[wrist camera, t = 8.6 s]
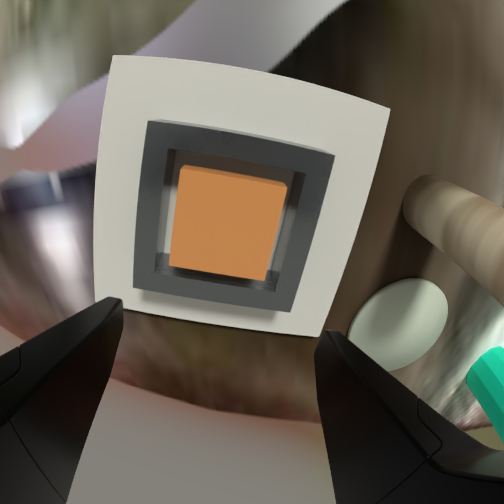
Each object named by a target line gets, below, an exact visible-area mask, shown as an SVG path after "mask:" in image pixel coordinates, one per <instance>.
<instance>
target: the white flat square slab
mask: <svg viewBox="0 0 504 504" xmlns="http://www.w3.org/2000/svg"><path fill="white" fill-rule="evenodd" d="M389 113H390V109H389V108H386V107H384V106H381V105H378V104H375V103H373V102H370V101H367V100H364V99H361V98H358V97H355V96H352V95H349V94H346V93H343V92H339V91H336V90H333V89H329V88H326V87H322V86H319V85H315V84H312V83H308V82H304V81H300V80H296V79H292V78H288V77H284V76H279V75H275V74H270V73H266V72H261V71H255V70H250V69H245V68H240V67H234V66H228V65H222V64H215V63H207V62H201V61H193V60H184V59H173V58H161V57H147V56H125V55H113V58H112V63H111V67H110V72H109V78H108V83H107V89H106V95H105V101H104V107H103V114H102V121H101V129H100V137H99V146H98V156H97V168H96V181H95V199H94V237H93V247H94V286H95V302H98V301H100V300H102V299H104V298H106V297H108V296H111V297H116V298H120V299H122V301H123V308H126V309H131V310H136V311H141V312H146V313H152V314H157V315H162V316H168V317H174V318H179V319H185V320H191V321H197V322H204V323H210V324H217V325H223V326H230V327H237V328H245V329H252V330H260V331H268V332H276V333H285V334H294V335H304V336H314V337H319V335H320V333H321V330H322V328H323V325H324V322H325V320H326V317H327V315H328V312H329V310H330V307H331V304H332V302H333V299H334V296H335V294H336V291H337V288H338V285H339V283H340V280H341V277H342V274H343V271H344V268H345V266H346V263H347V260H348V257H349V254H350V251H351V248H352V245H353V242H354V239H355V236H356V233H357V230H358V227H359V223H360V220H361V217H362V214H363V210H364V207H365V204H366V201H367V197H368V194H369V190H370V187H371V183H372V180H373V176H374V173H375V169H376V165H377V162H378V158H379V154H380V150H381V146H382V143H383V139H384V134H385V130H386V126H387V122H388V118H389ZM184 165H191V166H197V167H203V168H209V169H215V170H221V171H227V172H232V173H238V174H243V175H249V176H254V177H259V178H264V179H269V180H274V181H279V182H284V183H285V185H286V186H287V192H286V196H285V200H284V204H283V208H282V212H281V216H280V220H279V225H278V229H277V233H276V237H275V241H274V245H273V249H272V253H271V257H270V261H269V265H268V269H267V273H266V277H265V281H261V280H255V279H248V278H242V277H235V276H229V275H223V274H217V273H211V272H205V271H199V270H193V269H187V268H181V267H175V266H169V257H170V247H171V238H172V229H173V221H174V213H175V205H176V198H177V190H178V183H179V177H180V170H181V168H182V167H183V166H184Z"/></svg>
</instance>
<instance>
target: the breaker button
mask: <svg viewBox="0 0 504 504" xmlns="http://www.w3.org/2000/svg"><path fill="white" fill-rule="evenodd" d="M286 192H287V186H286V185H285V183H284V182H279V181H274V180H269V179H264V178H259V177H254V176H249V175H243V174H238V173H232V172H227V171H221V170H215V169H209V168H203V167H197V166H191V165H184V166H183V167H182V168H181V170H180V177H179V183H178V190H177V198H176V205H175V213H174V221H173V229H172V238H171V247H170V257H169V266H175V267H181V268H187V269H193V270H199V271H205V272H211V273H217V274H223V275H229V276H235V277H242V278H248V279H255V280H261V281H265V277H266V273H267V269H268V265H269V261H270V257H271V253H272V249H273V245H274V241H275V237H276V233H277V229H278V225H279V220H280V216H281V212H282V208H283V204H284V200H285V196H286Z"/></svg>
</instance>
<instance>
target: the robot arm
mask: <svg viewBox="0 0 504 504" xmlns="http://www.w3.org/2000/svg"><path fill="white" fill-rule="evenodd" d="M122 330H123V301H122V299H120V298H116V297H111V296H108V297H106V298H104V299H102V300H100V301H98V302H97V303H95V304H93V305H91V306H89V307H87V308H86V309H84V310H82V311H80V312H78V313H76V314H75V315H73V316H71V317H69V318H67V319H66V320H64V321H62V322H60V323H58V324H57V325H55V326H53V327H51V328H49V329H48V330H46V331H44V332H42V333H40V334H39V335H37V336H35V337H33V338H32V339H30V340H28V341H26V342H25V343H23V344H21V345H20V347H16V348H14V349H12V350H10V351H9V352H7V353H5V354H3V355H1V356H0V504H66V502H67V499H68V495H69V492H70V488H71V485H72V482H73V478H74V475H75V472H76V469H77V466H78V463H79V460H80V457H81V453H82V451H83V448H84V445H85V442H86V439H87V436H88V433H89V430H90V428H91V425H92V422H93V419H94V417H95V414H96V411H97V408H98V406H99V403H100V400H101V398H102V395H103V393H104V390H105V388H106V385H107V382H108V380H109V377H110V374H111V371H112V367H113V363H114V359H115V356H116V352H117V348H118V345H119V341H120V338H121V334H122ZM314 364H315V376H316V389H317V401H318V407H319V412H320V417H321V422H322V427H323V433H324V438H325V443H326V448H327V453H328V459H329V464H330V470H331V476H332V482H333V487H334V493H335V499H336V504H504V450H496V449H492V448H489V447H487V446H485V445H483V444H482V443H480V442H479V441H477V440H476V439H474V438H473V437H471V436H470V435H468V434H467V433H465V432H464V431H463V430H461V429H460V428H458V427H457V426H455V425H454V424H452V423H451V422H450V421H448V420H447V419H445V418H444V417H443V416H441V415H440V414H439V413H437V412H436V411H435V410H434V409H432V408H431V407H430V406H428V405H427V404H426V403H425V402H424V401H422V400H421V399H420V398H418V397H417V396H416V395H415V394H414V393H413V392H411V391H410V390H409V389H408V388H407V387H405V386H404V385H403V384H402V383H401V382H399V381H398V380H397V379H396V378H395V377H393V376H392V375H391V374H390V373H389V372H387V371H386V370H385V369H384V368H382V367H381V366H380V365H379V364H378V363H376V362H375V361H374V360H373V359H372V358H370V357H369V356H368V355H367V354H366V353H364V352H363V351H362V350H361V349H360V348H358V347H357V346H356V345H355V344H354V343H352V342H351V341H350V340H349V339H348V338H346V337H345V336H344V335H343V334H342V333H340V332H339V331H337V330H325V331H324V332H323V333H322V335H321V338H320V340H319V343H318V345H317V347H316V350H315V353H314Z"/></svg>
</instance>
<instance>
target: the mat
mask: <svg viewBox="0 0 504 504" xmlns="http://www.w3.org/2000/svg"><path fill="white" fill-rule="evenodd" d="M447 315H448V305H447V300H446V297H445V295H444V294H443V292H442V291H441V290H440V289H439V288H438V287H437V286H436V285H435V284H434V283H432V282H430V281H428V280H425V279H422V278H408V279H403V280H399V281H396V282H394V283H391V284H389V285H387V286H385V287H384V288H382V289H380V290H379V291H377V292H376V293H375V294H373V295H372V296H371V297H370V298H369V299H368V300H367V301H366V302H365V303H364V304H363V305H362V306H361V307H360V309H359V310H358V311H357V313H356V314H355V316H354V318H353V320H352V322H351V324H350V327H349V330H348V335H347V338H348V339H349V340H350V341H351V342H352V343H354V344H355V345H356V346H357V347H358V348H360V349H361V350H362V351H363V352H364V353H366V354H367V355H368V356H369V357H370V358H372V359H373V360H374V361H375V362H376V363H378V364H379V365H380V366H381V367H382V368H384V369H385V370H386V371H392V370H396V369H399V368H402V367H404V366H406V365H409V364H410V363H412V362H414V361H415V360H417V359H418V358H420V357H421V356H422V355H423V354H425V353H426V352H427V351H428V350H429V349H430V348H431V347H432V346H433V344H434V343H435V342H436V341H437V339H438V338H439V336H440V334H441V333H442V331H443V329H444V326H445V323H446V320H447Z"/></svg>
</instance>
